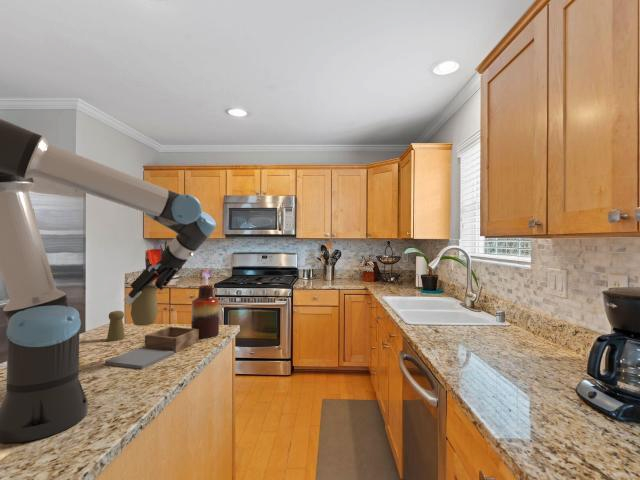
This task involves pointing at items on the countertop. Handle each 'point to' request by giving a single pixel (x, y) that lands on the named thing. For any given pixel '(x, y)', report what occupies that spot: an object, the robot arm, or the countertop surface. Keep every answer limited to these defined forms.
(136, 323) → the squeeze bottle
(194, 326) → the vase
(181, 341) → the bottle holder
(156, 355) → the slate mat
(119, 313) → the cork
